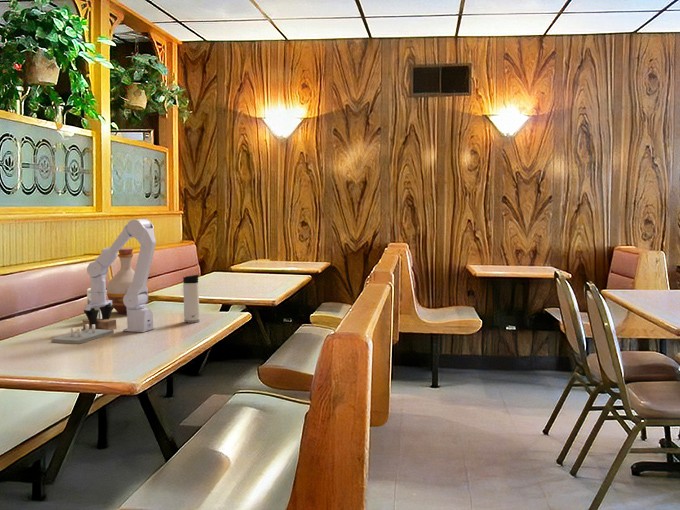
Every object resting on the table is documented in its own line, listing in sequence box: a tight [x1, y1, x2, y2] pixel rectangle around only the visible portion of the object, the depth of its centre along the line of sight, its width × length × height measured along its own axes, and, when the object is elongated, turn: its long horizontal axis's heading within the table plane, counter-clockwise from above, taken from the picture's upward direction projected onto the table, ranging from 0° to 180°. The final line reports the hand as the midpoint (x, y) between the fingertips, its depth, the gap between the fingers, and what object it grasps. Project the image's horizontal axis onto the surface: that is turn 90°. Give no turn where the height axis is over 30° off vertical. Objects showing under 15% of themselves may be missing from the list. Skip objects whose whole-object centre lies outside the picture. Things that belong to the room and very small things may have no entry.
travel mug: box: [182, 274, 200, 324], centre depth 282 cm, size 6×7×20 cm
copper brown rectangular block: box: [82, 318, 117, 331], centre depth 269 cm, size 12×5×4 cm, turn 72°
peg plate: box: [51, 324, 115, 345], centre depth 252 cm, size 12×20×4 cm, turn 162°
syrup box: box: [86, 287, 102, 319], centre depth 285 cm, size 6×6×14 cm
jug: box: [106, 246, 148, 315], centre depth 308 cm, size 20×18×30 cm
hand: (99, 325), depth 269 cm, fingers open, 7 cm apart
